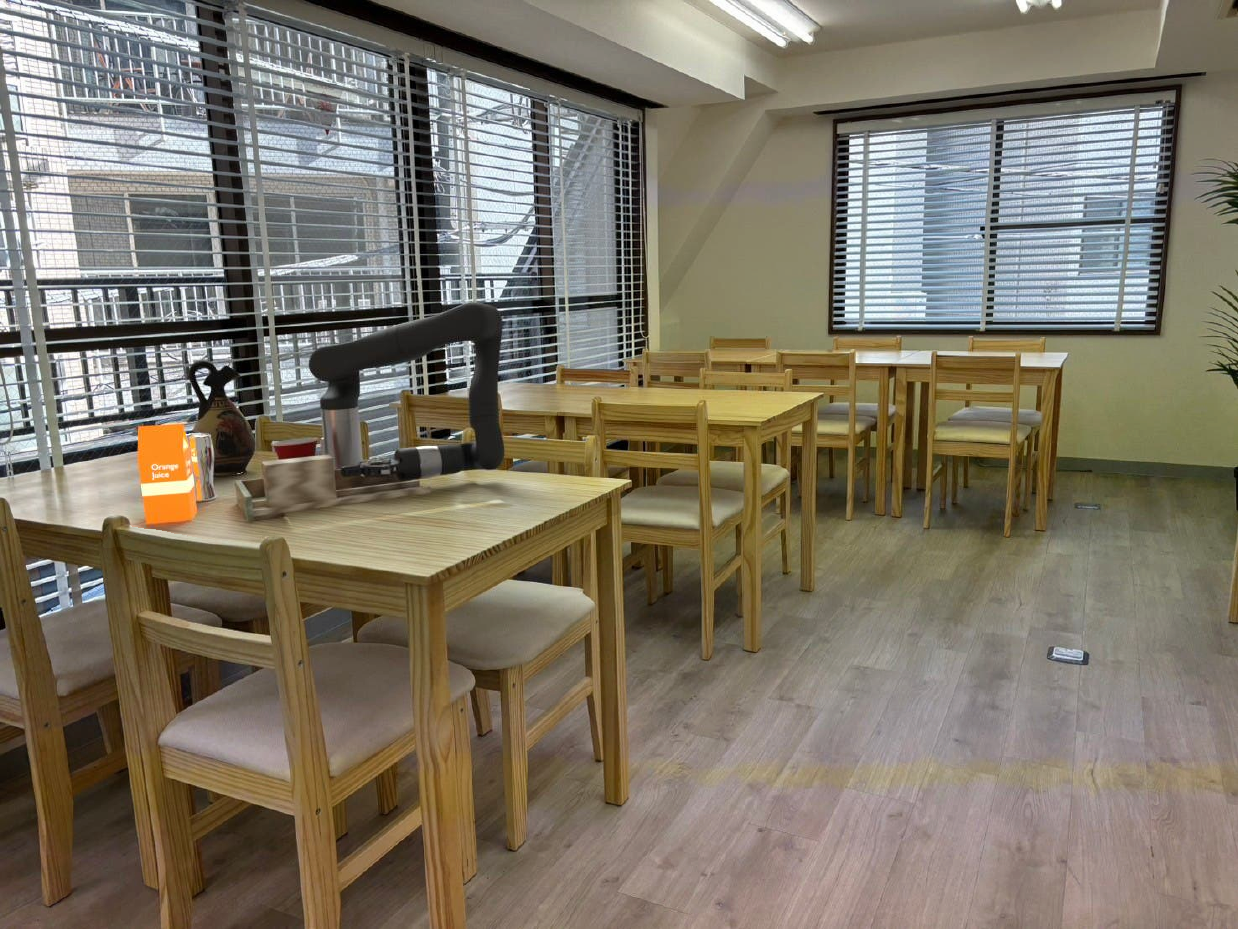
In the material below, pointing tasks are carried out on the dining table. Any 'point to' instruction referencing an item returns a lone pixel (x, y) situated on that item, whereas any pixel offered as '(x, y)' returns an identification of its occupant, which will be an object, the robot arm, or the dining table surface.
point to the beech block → (299, 480)
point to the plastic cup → (295, 448)
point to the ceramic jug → (222, 421)
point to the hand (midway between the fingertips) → (341, 472)
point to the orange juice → (166, 474)
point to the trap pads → (369, 484)
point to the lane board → (344, 497)
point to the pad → (258, 498)
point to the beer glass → (202, 465)
